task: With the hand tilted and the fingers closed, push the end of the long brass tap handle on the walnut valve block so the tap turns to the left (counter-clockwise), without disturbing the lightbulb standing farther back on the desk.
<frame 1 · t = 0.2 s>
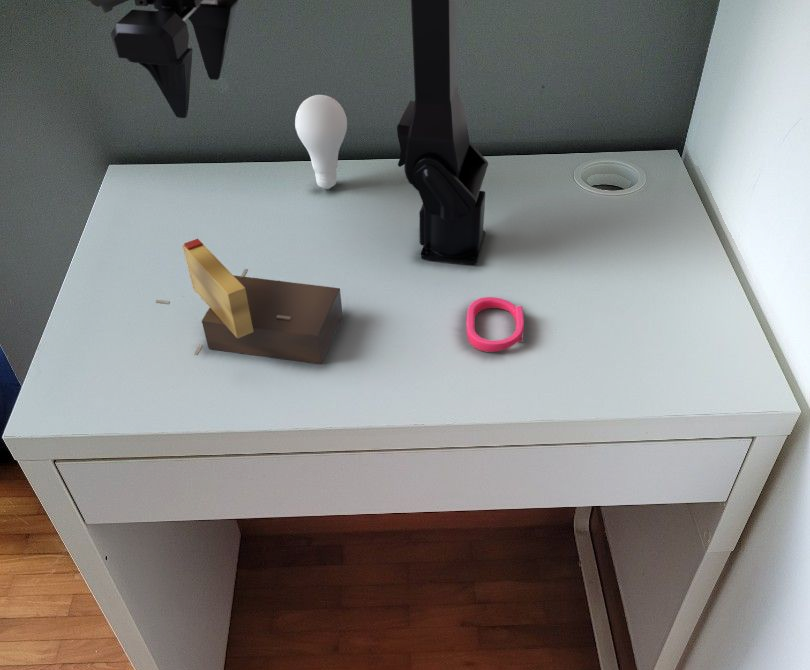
hand: (198, 97, 89), 15 cm above the table, tool pointing down, fingers open, 9 cm apart
tap handle: (217, 287, 82), point 6 cm above the table, hinge at -43.0°
lightbulb: (327, 189, 106), on the table
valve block: (276, 332, 87), on the table
fitness band: (494, 331, 87), on the table
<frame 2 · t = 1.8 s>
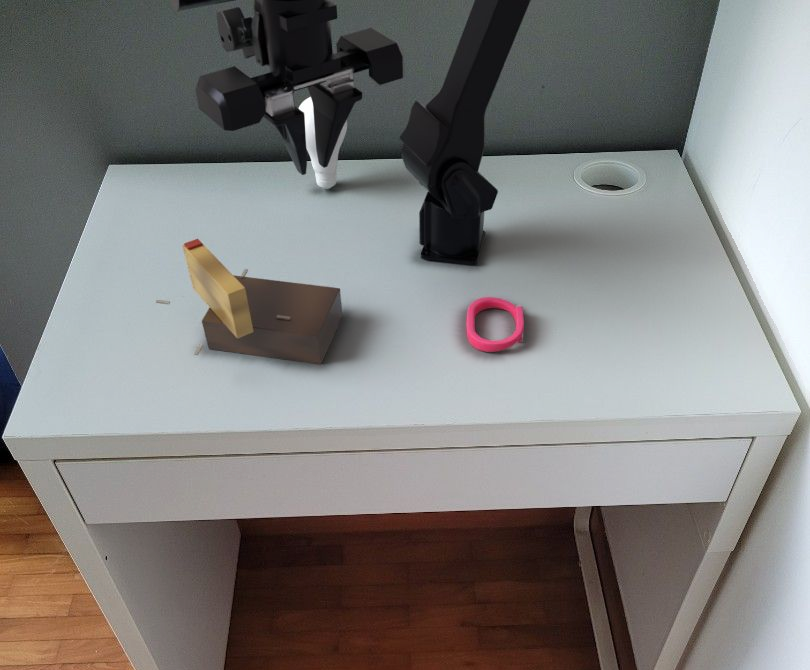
hand: (312, 169, 82), 13 cm above the table, tool pointing down, fingers closed
nothing on the table moved.
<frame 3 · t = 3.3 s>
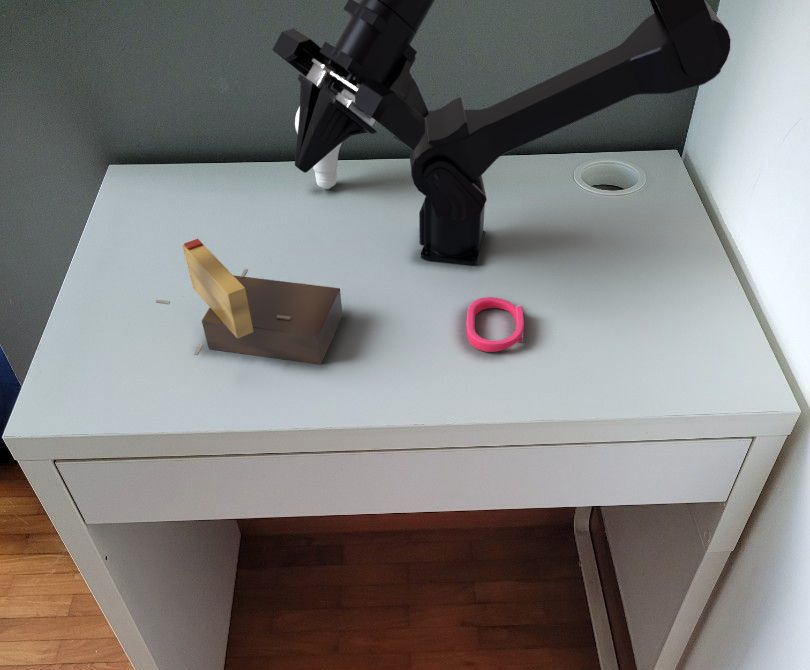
hand: (299, 169, 82), 13 cm above the table, tool tilted 45°, fingers closed
nothing on the table moved.
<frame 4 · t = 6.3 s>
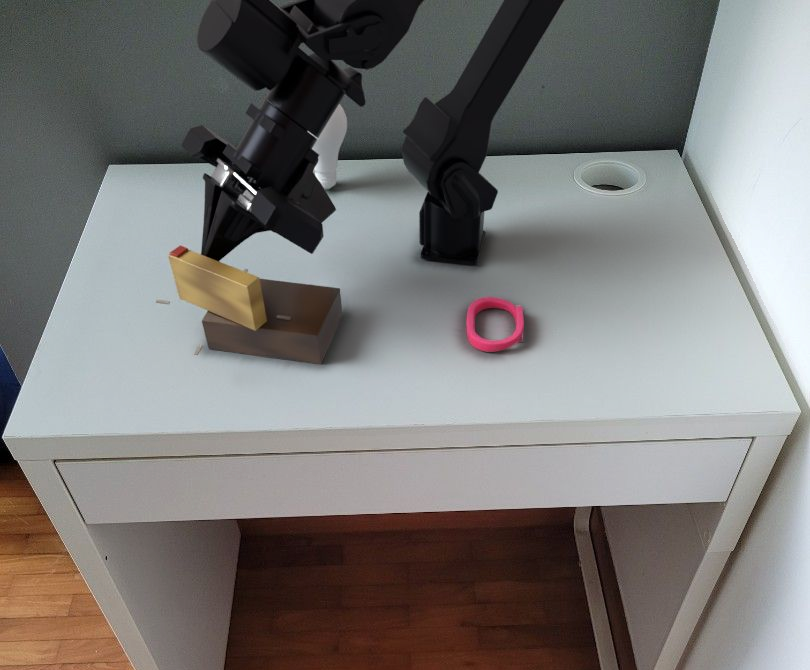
hand: (206, 263, 83), 7 cm above the table, tool tilted 45°, fingers closed
tap handle: (217, 287, 82), point 6 cm above the table, hinge at -20.0°, touching gripper
everything else where it was.
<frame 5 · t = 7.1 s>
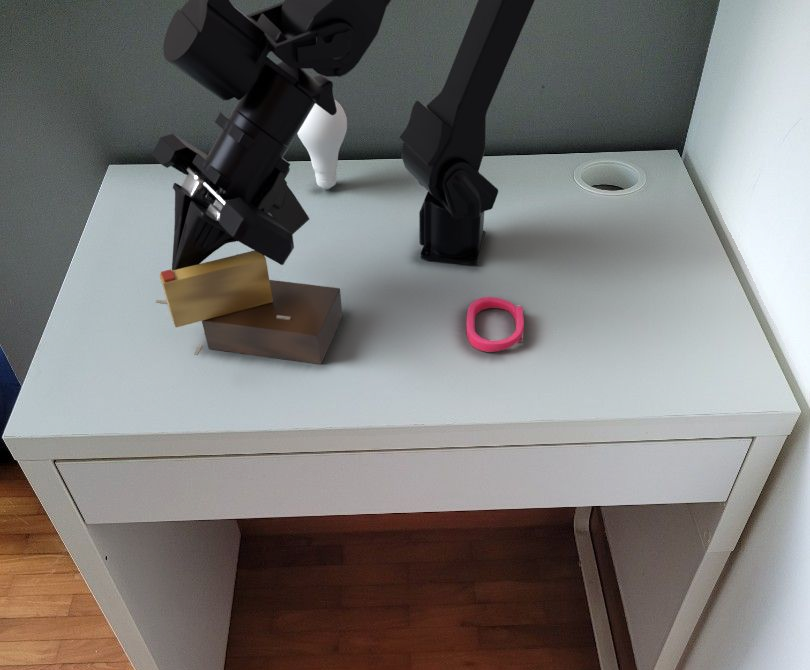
hand: (177, 274, 82), 7 cm above the table, tool tilted 45°, fingers closed
tap handle: (217, 287, 82), point 6 cm above the table, hinge at 36.3°, touching gripper
everything else where it was.
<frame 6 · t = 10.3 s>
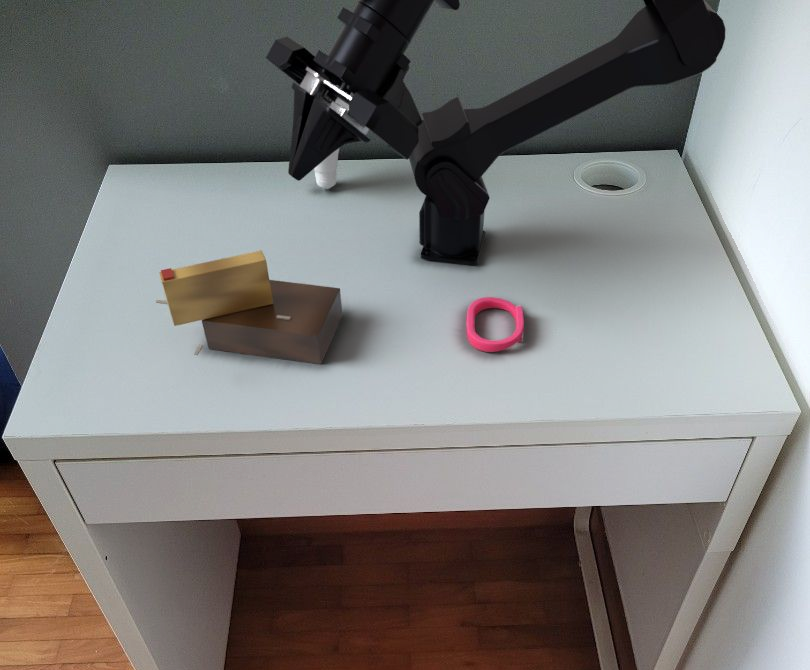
hand: (293, 177, 82), 13 cm above the table, tool tilted 45°, fingers closed
tap handle: (217, 287, 82), point 6 cm above the table, hinge at 32.9°
everything else where it was.
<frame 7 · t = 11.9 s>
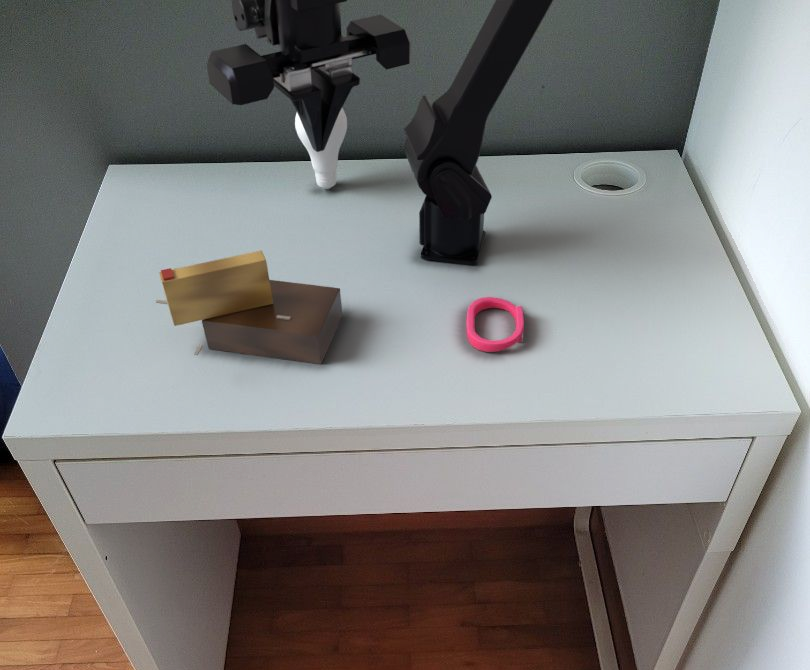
hand: (318, 149, 85), 13 cm above the table, tool pointing down, fingers closed
nothing on the table moved.
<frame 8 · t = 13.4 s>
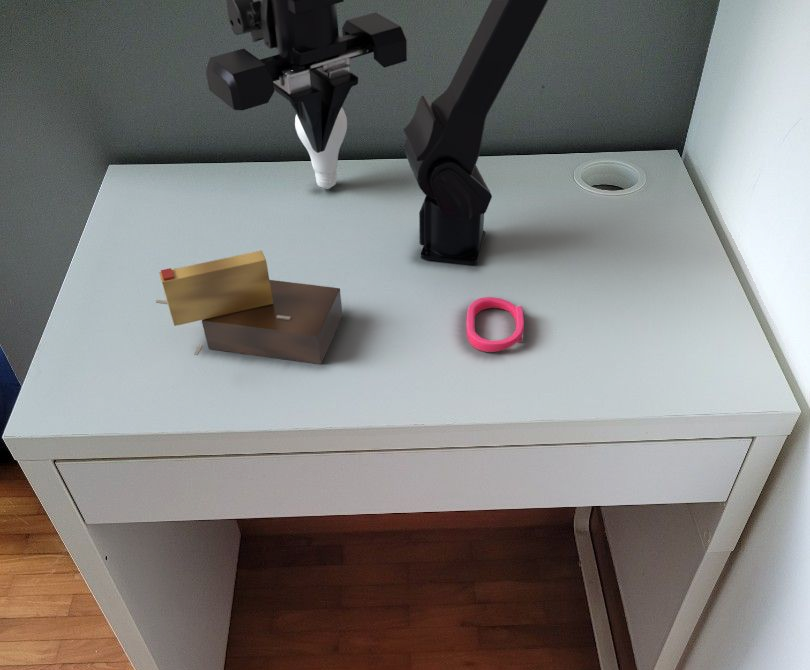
hand: (318, 150, 85), 13 cm above the table, tool pointing down, fingers closed
nothing on the table moved.
at the end: tap handle at +33° (first picture: -43°); lightbulb moved 0.2 cm from its start; lightbulb tilted 0° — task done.
